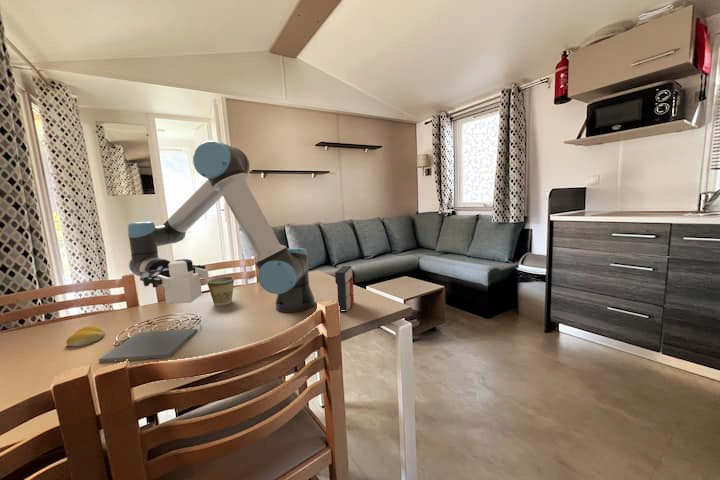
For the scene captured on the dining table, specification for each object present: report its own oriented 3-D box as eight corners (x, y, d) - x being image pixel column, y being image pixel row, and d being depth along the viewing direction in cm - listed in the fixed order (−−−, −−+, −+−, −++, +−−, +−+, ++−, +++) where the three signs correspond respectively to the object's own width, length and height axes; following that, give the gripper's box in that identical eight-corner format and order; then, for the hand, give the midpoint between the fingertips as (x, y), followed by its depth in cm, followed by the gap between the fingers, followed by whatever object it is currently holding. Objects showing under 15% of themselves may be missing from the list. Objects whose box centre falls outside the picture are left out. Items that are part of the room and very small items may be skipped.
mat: (197, 331, 95) (197, 328, 95) (169, 357, 79) (169, 354, 79) (139, 335, 94) (138, 332, 94) (99, 362, 78) (98, 359, 78)
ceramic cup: (229, 306, 117) (227, 282, 116) (204, 307, 117) (202, 283, 116) (242, 296, 130) (240, 274, 129) (220, 297, 130) (218, 275, 129)
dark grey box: (348, 312, 107) (346, 272, 105) (336, 312, 108) (334, 272, 106) (354, 302, 118) (353, 265, 116) (344, 301, 118) (342, 265, 116)
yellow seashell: (62, 350, 86) (59, 337, 86) (78, 337, 95) (76, 325, 94) (96, 344, 89) (94, 332, 89) (109, 332, 98) (107, 321, 97)
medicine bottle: (178, 296, 91) (174, 258, 90) (202, 295, 92) (198, 257, 90) (165, 304, 84) (160, 263, 82) (191, 302, 85) (186, 262, 83)
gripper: (193, 273, 107) (226, 282, 94) (117, 289, 89) (144, 302, 76) (191, 253, 106) (224, 259, 93) (113, 265, 88) (141, 274, 75)
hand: (188, 278), depth 84 cm, fingers closed on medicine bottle, 10 cm apart
